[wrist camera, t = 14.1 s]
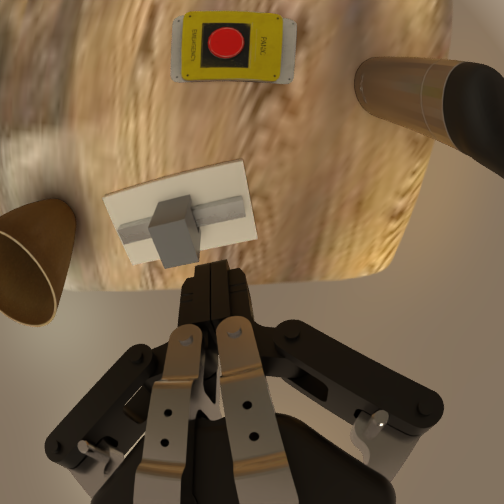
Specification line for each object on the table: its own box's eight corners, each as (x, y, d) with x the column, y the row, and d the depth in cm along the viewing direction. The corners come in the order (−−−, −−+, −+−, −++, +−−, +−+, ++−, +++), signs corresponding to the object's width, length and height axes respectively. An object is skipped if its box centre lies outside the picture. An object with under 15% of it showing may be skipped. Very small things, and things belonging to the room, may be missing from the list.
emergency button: (167, 9, 19) (306, 14, 21) (173, 17, 23) (296, 21, 25) (164, 83, 25) (301, 85, 26) (171, 83, 28) (291, 84, 30)
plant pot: (101, 261, 41) (69, 336, 28) (33, 252, 38) (-9, 315, 25) (95, 175, 33) (37, 235, 20) (19, 173, 30) (-44, 225, 17)
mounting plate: (242, 158, 35) (242, 160, 34) (256, 235, 42) (257, 238, 41) (104, 195, 35) (102, 198, 34) (133, 261, 42) (132, 265, 41)
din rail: (241, 195, 37) (242, 200, 35) (245, 211, 38) (246, 216, 37) (120, 224, 37) (117, 230, 35) (126, 239, 38) (123, 244, 37)
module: (189, 194, 36) (184, 219, 30) (201, 232, 39) (199, 261, 33) (158, 202, 36) (147, 228, 30) (171, 238, 39) (164, 268, 33)
